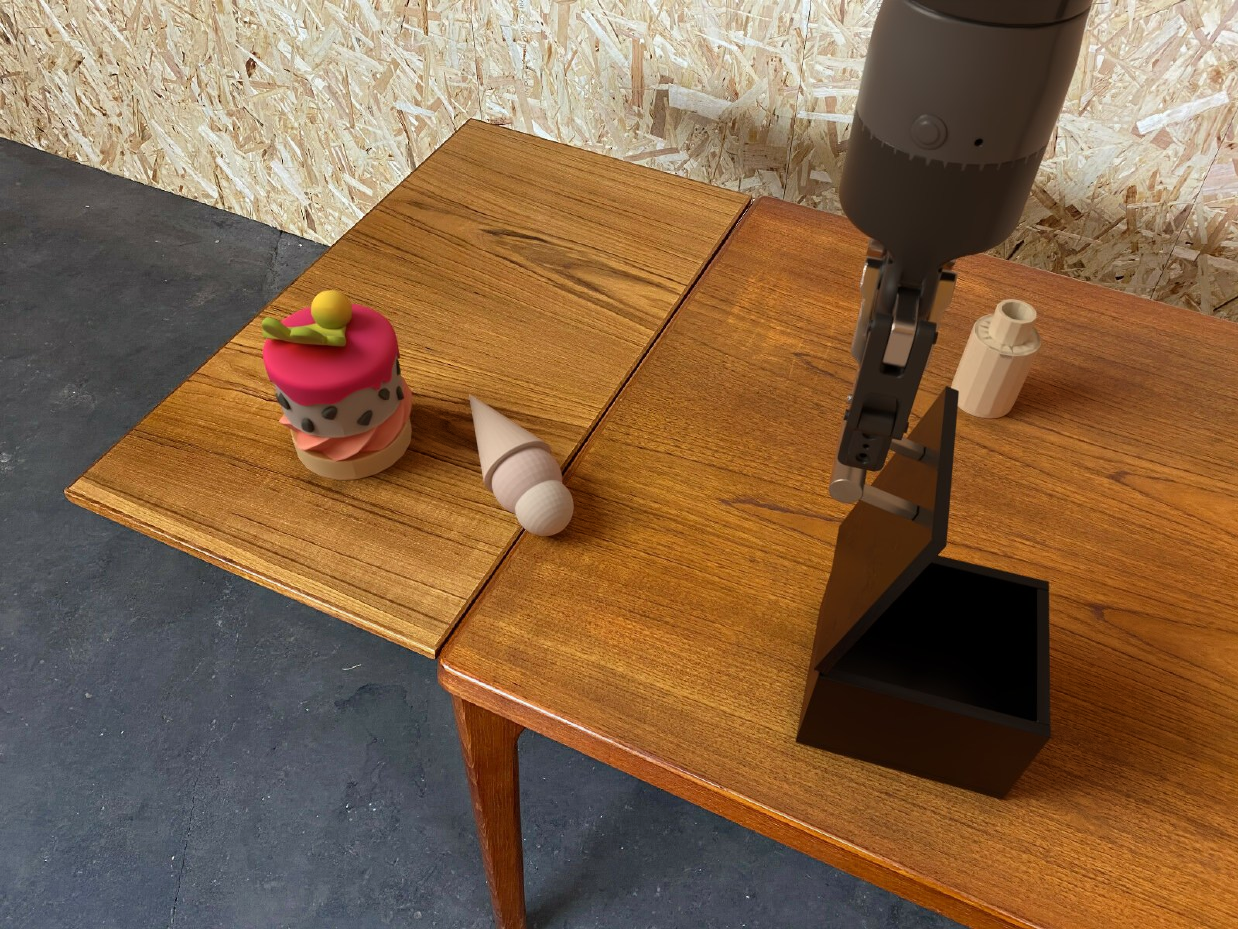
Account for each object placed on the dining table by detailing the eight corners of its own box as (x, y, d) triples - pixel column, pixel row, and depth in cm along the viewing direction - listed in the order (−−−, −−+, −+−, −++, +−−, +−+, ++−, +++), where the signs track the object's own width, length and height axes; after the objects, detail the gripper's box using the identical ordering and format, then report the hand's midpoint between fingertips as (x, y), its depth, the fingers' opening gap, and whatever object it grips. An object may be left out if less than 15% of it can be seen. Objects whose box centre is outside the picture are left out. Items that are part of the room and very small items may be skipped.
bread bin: (1006, 651, 69) (1049, 581, 63) (1002, 800, 62) (1051, 737, 55) (820, 605, 72) (843, 532, 65) (795, 742, 64) (817, 676, 58)
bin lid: (959, 390, 54) (867, 353, 54) (946, 546, 46) (840, 503, 46) (849, 530, 65) (773, 499, 65) (825, 674, 57) (739, 639, 57)
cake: (313, 391, 86) (272, 251, 75) (428, 400, 86) (404, 261, 75) (274, 477, 79) (222, 337, 68) (399, 488, 79) (368, 349, 68)
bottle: (1013, 383, 89) (1051, 297, 82) (1012, 424, 85) (1051, 338, 78) (951, 371, 90) (984, 285, 83) (948, 411, 86) (981, 324, 79)
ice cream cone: (474, 422, 84) (560, 553, 77) (422, 415, 79) (509, 555, 72) (514, 371, 81) (606, 503, 75) (462, 361, 76) (557, 501, 70)
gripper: (1056, 221, 32) (933, 525, 44) (1053, 43, 41) (952, 334, 53) (833, 184, 33) (772, 488, 45) (878, 20, 43) (818, 308, 55)
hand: (869, 405), depth 49 cm, fingers open, 8 cm apart
